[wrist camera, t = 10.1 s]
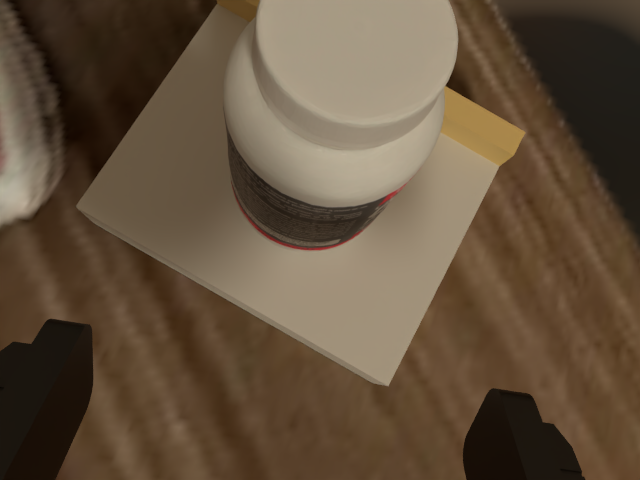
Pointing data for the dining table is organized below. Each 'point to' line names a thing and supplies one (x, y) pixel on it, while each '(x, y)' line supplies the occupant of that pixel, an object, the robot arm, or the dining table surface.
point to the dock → (273, 261)
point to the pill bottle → (333, 112)
